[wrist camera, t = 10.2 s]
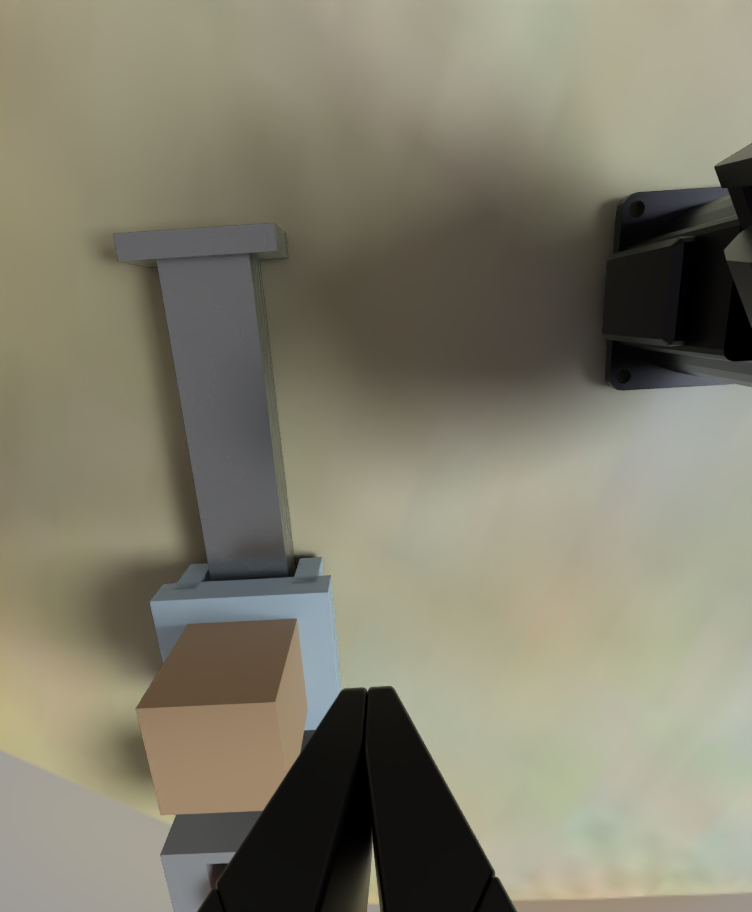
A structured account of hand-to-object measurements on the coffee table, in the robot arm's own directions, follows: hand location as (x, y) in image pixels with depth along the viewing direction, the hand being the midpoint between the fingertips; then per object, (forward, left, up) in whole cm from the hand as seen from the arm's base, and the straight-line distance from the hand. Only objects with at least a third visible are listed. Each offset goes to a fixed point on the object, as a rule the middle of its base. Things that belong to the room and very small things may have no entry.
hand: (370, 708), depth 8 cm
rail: (+5, +1, -12) cm, 13 cm away
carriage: (+5, +6, -12) cm, 14 cm away
